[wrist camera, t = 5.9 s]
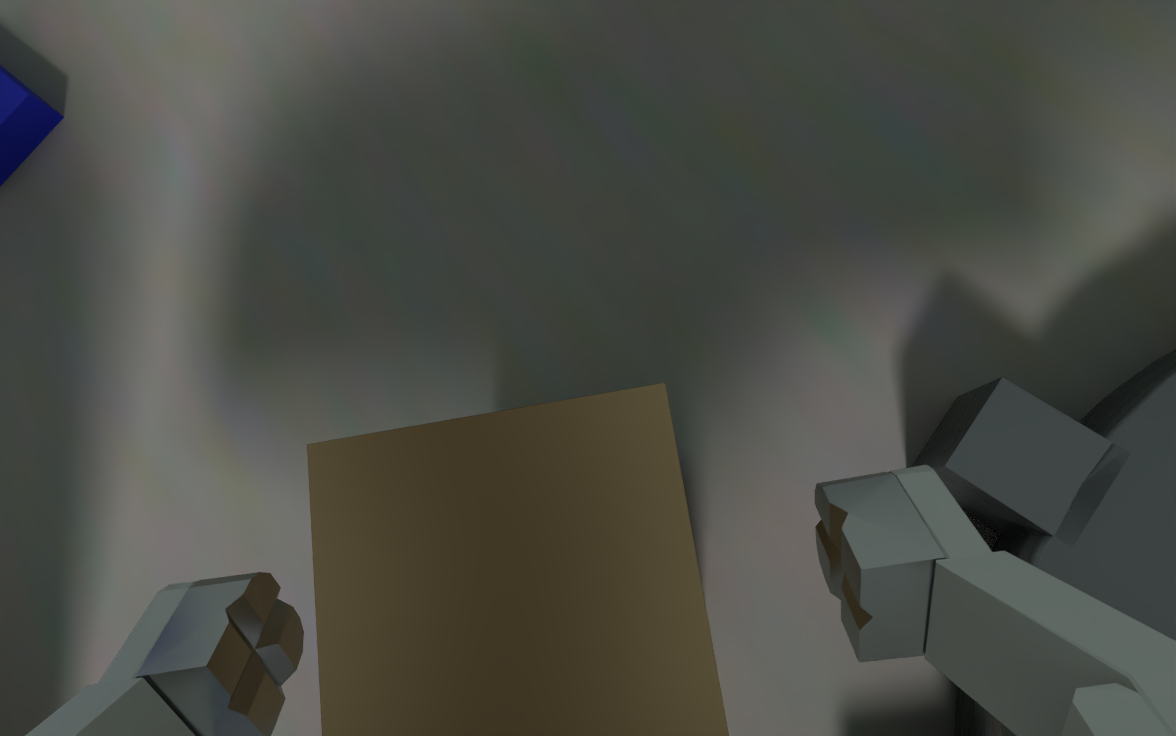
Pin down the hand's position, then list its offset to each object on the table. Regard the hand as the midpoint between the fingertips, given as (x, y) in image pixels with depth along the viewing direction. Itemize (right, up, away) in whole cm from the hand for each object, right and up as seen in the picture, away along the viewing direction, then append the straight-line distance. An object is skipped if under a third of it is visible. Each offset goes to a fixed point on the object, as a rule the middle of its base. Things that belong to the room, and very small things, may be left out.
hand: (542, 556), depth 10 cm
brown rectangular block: (+1, -1, +5) cm, 5 cm away
